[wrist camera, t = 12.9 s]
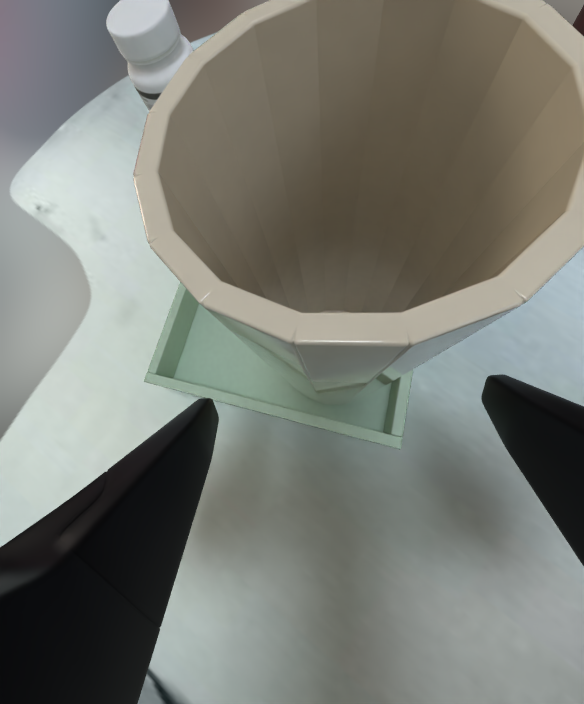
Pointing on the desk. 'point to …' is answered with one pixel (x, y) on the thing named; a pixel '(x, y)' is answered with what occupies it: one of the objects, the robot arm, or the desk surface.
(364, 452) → the desk surface
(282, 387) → the tray
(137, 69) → the pill bottle
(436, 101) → the tumbler
